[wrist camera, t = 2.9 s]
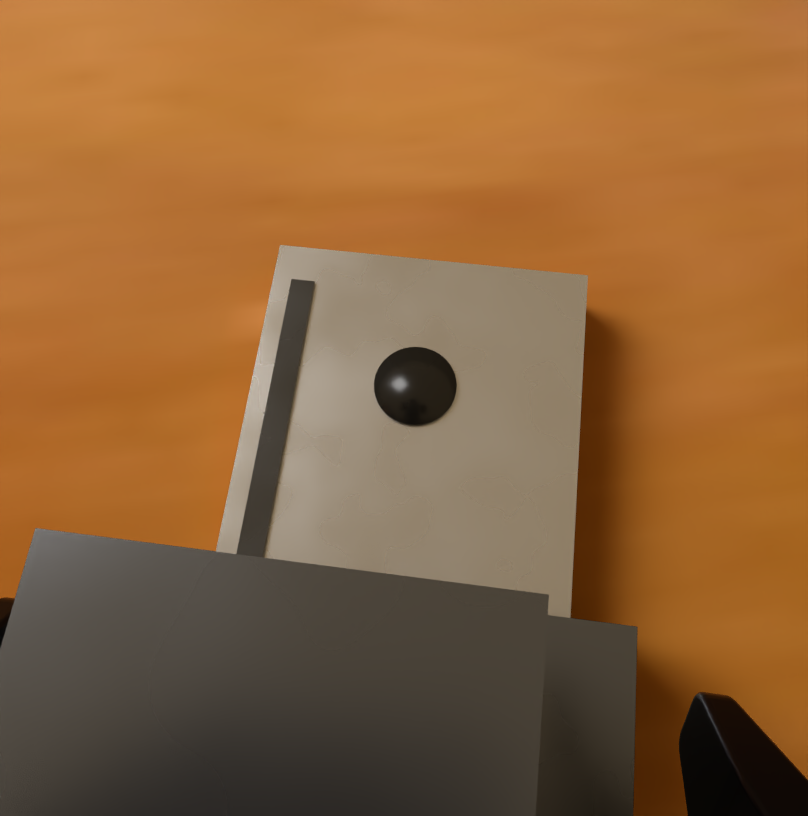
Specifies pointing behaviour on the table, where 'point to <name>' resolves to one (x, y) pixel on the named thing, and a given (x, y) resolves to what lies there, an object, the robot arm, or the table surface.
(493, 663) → the leg
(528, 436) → the bolt plate
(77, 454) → the table surface
